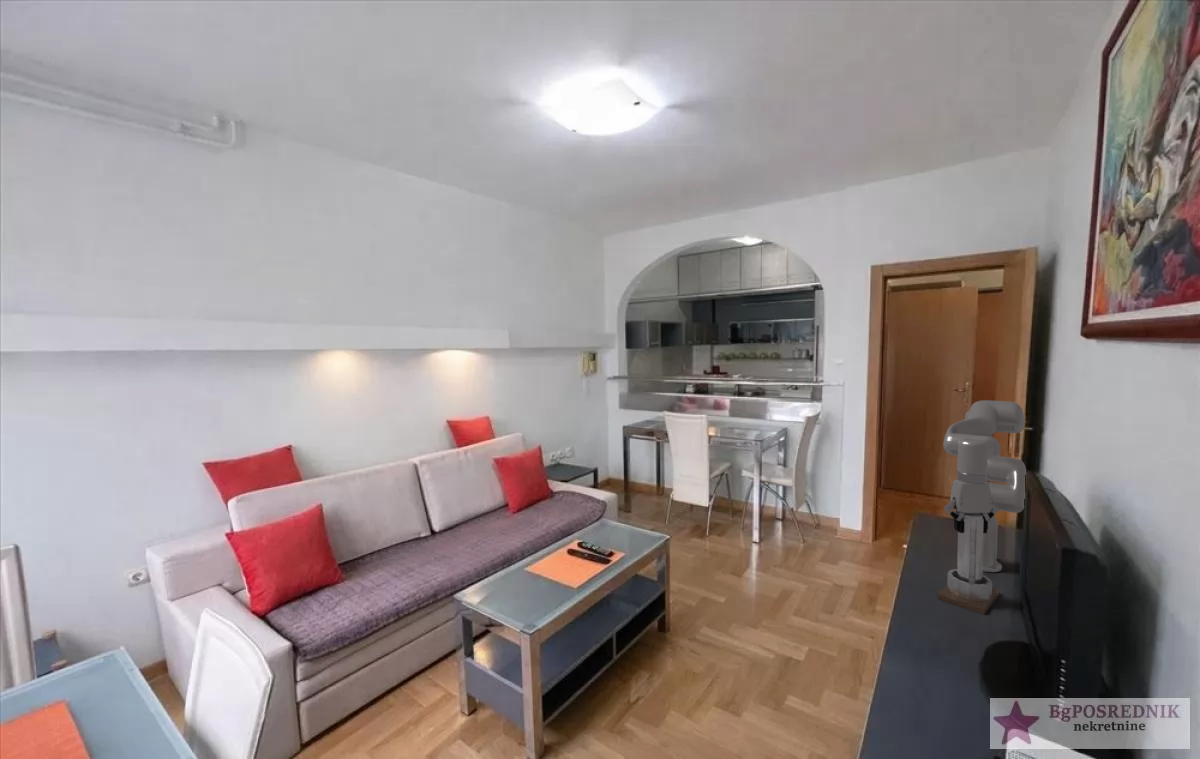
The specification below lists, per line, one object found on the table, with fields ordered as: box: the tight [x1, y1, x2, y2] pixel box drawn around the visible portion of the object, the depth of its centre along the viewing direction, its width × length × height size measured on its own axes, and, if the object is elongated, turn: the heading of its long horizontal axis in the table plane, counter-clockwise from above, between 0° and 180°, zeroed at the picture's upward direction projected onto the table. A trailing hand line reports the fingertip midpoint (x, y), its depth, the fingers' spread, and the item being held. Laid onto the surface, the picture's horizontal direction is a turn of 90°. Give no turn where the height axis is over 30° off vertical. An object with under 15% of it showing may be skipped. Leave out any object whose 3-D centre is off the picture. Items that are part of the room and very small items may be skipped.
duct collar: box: [937, 568, 1001, 615], centre depth 152 cm, size 18×12×6 cm, turn 128°
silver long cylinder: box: [956, 513, 984, 584], centre depth 151 cm, size 6×6×25 cm
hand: (970, 531), depth 151 cm, fingers closed on silver long cylinder, 6 cm apart
